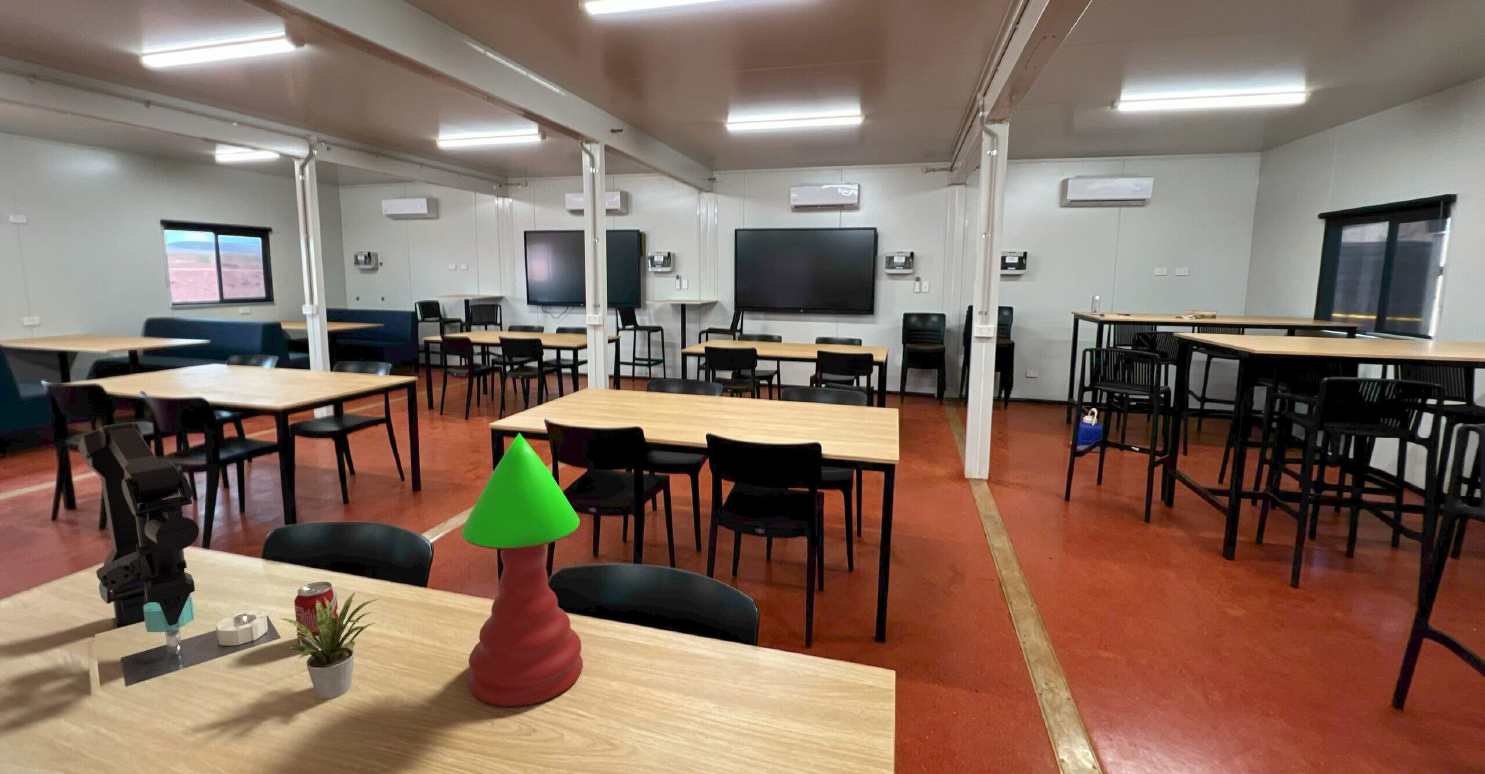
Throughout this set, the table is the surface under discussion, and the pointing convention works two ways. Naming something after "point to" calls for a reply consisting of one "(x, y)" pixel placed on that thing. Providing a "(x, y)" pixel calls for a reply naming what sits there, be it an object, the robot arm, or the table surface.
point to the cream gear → (241, 628)
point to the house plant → (330, 650)
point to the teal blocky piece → (158, 622)
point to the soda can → (313, 606)
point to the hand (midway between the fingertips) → (170, 617)
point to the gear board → (185, 652)
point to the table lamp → (523, 585)
